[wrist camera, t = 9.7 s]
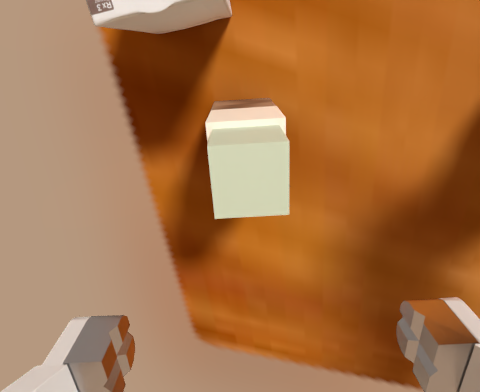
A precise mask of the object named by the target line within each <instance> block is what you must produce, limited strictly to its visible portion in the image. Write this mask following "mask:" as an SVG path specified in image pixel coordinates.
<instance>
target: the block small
mask: <svg viewBox="0 0 480 392" xmlns="http://www.w3.org/2000/svg"><path fill="white" fill-rule="evenodd" d="M207 151H208V160H209V169H210V179H211V188H212V198H213V207H214V217H215V219H221V218H238V217H255V216H272V215H289V140H288V138H287V137H286V135H285V133H284V132H283V130H282V129H281V127H280V125H267V126H251V127H236V128H220V129H212V133H211V136H210V139H209V142H208V145H207Z"/></svg>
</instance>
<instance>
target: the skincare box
mask: <svg viewBox="0 0 480 392" xmlns="http://www.w3.org/2000/svg"><path fill="white" fill-rule="evenodd" d="M86 2H87V5H88V8H89V11H90V14H91V17H92V20H93V23H94V25H95V26H100V27H107V28H115V29H124V30H132V31H139V32H148V33H155V34H162V33H168V32H172V31H177V30H182V29H186V28H190V27H193V26H197V25H201V24H205V23H208V22H212V21H214V20H217V19H222V18H228V17H231V16H232V11H231V5H230V0H86Z"/></svg>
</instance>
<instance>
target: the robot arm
mask: <svg viewBox="0 0 480 392" xmlns="http://www.w3.org/2000/svg"><path fill="white" fill-rule="evenodd" d="M400 312H401V314H402V316H403V318H402V319H401V320H400V321H398V322H397V329H396V334H397V340H398V344H399V346H400V349H401V351H402V353H403V355H404V356H405V357H406V358H407V359H409V360H410V361H411V362H413V363H414V366H413V373H414V374H415V376H416V378H417V380H418V382H419V383H420V385H421V387H422V389H423V390H424V392H480V319H479V318H478V317H477V316H476V315H475V314H474V312H473V311H472V310H471V309H470V308H469V307H468V306H467V305H466V304H465V303H464V302H463V301H462V300H461V299H459V298H457V297H452V298H439V299H422V300H406V301H403V302H402V304H401V307H400ZM129 326H130V324H129V321H128V318H127V316H124V315H121V316H91V317H75V318H73V319H72V320H71V321H70V322H69V323H68V325H67V326H66V328H65V329H64V331H63V333H62V334H61V336H60V337H59V339H58V340H57V342H56V344H55V345H54V347H53V348H52V350H51V351H50V353H49V355H48V356H47V358H46V359H45V361H44V362H43V364H42V366H35V367H34V368H33V369H31V370H30V371H28V372H27V373H26V374H24V375H23V376H22V377H20V378H19V379H18V380H16V381H15V382H13V383H12V384H11V385H9V386H8V387H7V388H5V389H4V390H3V391H1V392H123V391H124V388H125V381H124V378H123V377H124V376H125V375H126V374H127V373H128V372H129V371H130V370H131V367H132V364H133V361H134V353H135V343H134V339H133V336H132V335H131V334H130V333H129V332H127V331H128V328H129Z"/></svg>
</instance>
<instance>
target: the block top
mask: <svg viewBox="0 0 480 392" xmlns="http://www.w3.org/2000/svg"><path fill="white" fill-rule="evenodd" d="M205 124H206V134H207V143H208V142H209V139H210V136H211V133H212V129H220V128H236V127H251V126H267V125H280V127H281V129H282V130H283V132H284V133H285V135H286V117H285V116H284V115H283V114H282V112H281V111H280V110H279V109H278V107H277V106H268V107H252V108H237V109H221V110H211V112H210V114H209V116H208V118H207V120H206V122H205Z"/></svg>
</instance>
